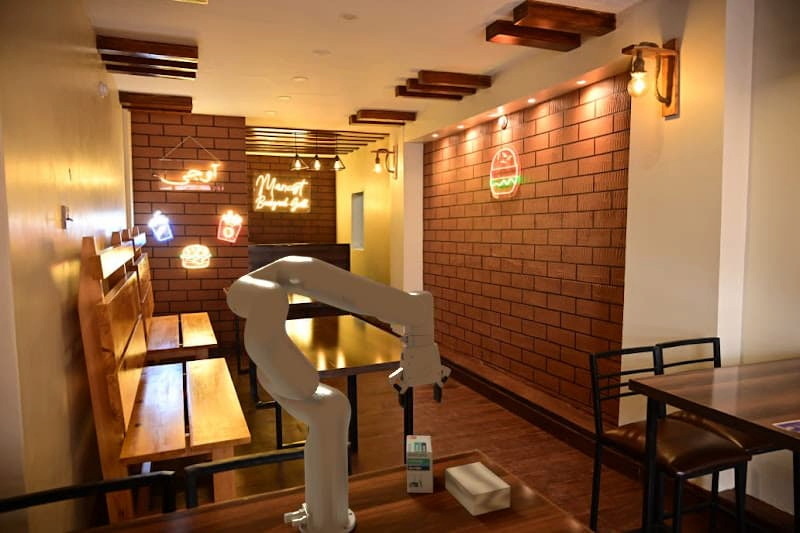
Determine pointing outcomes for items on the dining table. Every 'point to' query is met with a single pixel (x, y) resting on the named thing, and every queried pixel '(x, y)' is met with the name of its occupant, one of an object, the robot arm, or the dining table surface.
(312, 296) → the robot arm
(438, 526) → the dining table surface
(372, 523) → the dining table surface
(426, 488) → the light bulb box
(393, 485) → the dining table surface
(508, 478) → the dining table surface
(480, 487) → the ash block
